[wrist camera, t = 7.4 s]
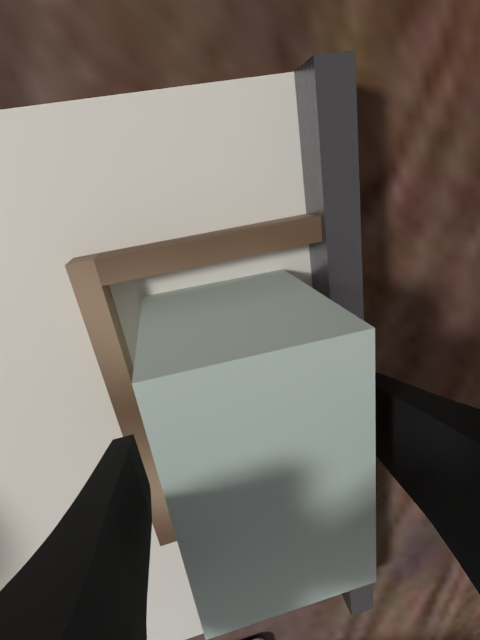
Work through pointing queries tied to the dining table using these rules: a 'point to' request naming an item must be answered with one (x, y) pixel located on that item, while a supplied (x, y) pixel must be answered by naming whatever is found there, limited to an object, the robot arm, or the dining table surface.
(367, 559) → the carton
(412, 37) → the dining table surface
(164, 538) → the white square tray
